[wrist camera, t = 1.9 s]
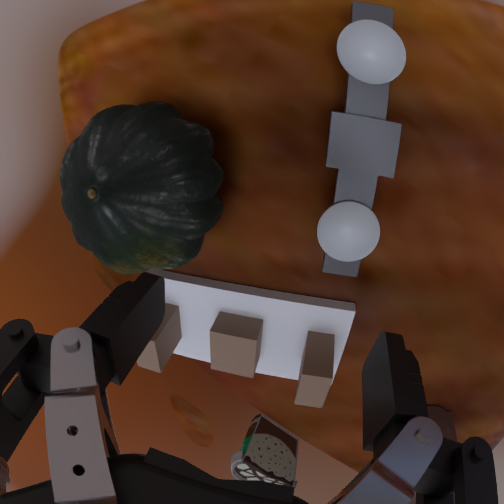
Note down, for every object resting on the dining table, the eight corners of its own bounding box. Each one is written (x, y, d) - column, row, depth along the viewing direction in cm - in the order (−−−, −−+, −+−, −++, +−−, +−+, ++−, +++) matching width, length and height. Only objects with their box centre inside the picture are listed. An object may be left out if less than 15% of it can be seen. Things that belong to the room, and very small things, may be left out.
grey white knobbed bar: (337, 15, 21) (339, -6, 16) (393, 25, 20) (409, 8, 15) (313, 244, 31) (309, 276, 26) (363, 252, 30) (368, 285, 25)
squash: (92, 269, 32) (95, 334, 19) (53, 138, 27) (22, 114, 14) (207, 227, 37) (275, 261, 24) (177, 102, 32) (233, 63, 19)
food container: (228, 418, 48) (211, 467, 39) (254, 408, 45) (238, 462, 36) (277, 450, 50) (267, 495, 41) (304, 442, 47) (295, 491, 38)
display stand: (355, 303, 33) (358, 355, 26) (331, 376, 38) (328, 426, 31) (148, 267, 37) (112, 305, 30) (158, 340, 42) (132, 380, 35)
